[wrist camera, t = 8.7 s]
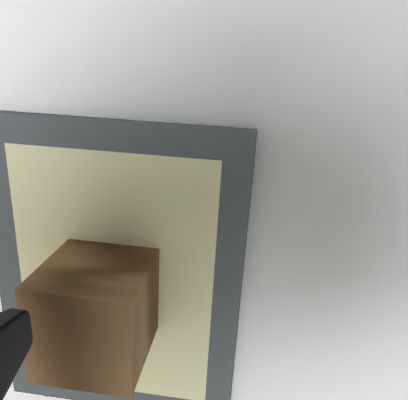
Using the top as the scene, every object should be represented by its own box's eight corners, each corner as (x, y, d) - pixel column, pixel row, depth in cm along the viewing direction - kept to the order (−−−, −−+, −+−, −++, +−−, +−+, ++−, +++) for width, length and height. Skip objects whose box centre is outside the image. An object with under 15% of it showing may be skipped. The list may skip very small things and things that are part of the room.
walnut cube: (159, 248, 20) (131, 304, 16) (157, 327, 22) (131, 398, 17) (68, 238, 21) (14, 289, 16) (74, 316, 22) (26, 382, 18)
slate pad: (256, 129, 18) (256, 131, 18) (228, 414, 24) (227, 424, 24) (-19, 109, 20) (-28, 110, 19) (19, 383, 26) (13, 391, 25)
